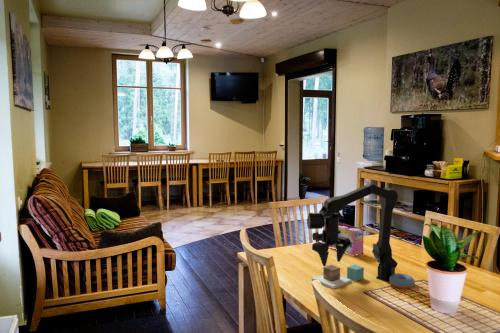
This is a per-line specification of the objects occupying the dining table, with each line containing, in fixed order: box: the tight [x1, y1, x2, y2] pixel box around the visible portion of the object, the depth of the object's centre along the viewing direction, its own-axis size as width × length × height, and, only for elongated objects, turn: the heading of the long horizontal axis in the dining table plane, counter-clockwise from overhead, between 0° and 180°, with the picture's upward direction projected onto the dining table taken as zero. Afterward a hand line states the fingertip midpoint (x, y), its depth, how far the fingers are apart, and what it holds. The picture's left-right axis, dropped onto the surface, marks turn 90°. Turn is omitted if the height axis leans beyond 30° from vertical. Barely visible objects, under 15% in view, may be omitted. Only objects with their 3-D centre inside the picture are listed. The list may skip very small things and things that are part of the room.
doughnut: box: [389, 273, 416, 290], centre depth 167 cm, size 10×10×5 cm
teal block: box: [346, 264, 365, 282], centre depth 176 cm, size 5×5×5 cm
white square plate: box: [311, 274, 353, 290], centre depth 172 cm, size 12×12×1 cm
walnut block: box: [322, 264, 341, 282], centre depth 172 cm, size 5×5×5 cm
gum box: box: [323, 222, 364, 256], centre depth 218 cm, size 24×8×14 cm, turn 31°
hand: (331, 263), depth 172 cm, fingers open, 9 cm apart
